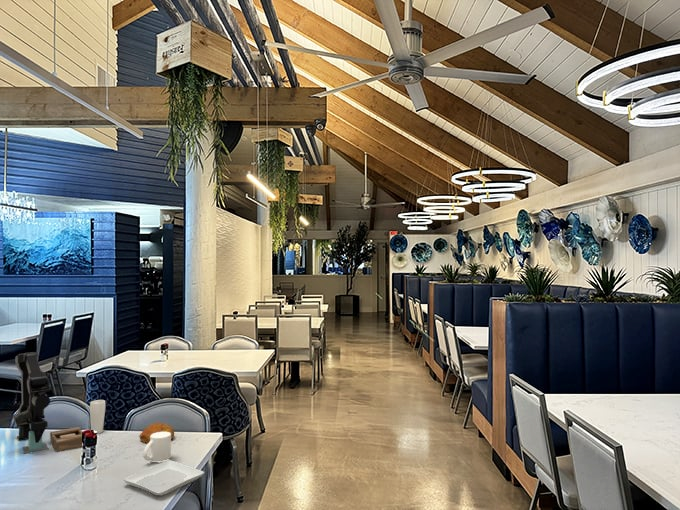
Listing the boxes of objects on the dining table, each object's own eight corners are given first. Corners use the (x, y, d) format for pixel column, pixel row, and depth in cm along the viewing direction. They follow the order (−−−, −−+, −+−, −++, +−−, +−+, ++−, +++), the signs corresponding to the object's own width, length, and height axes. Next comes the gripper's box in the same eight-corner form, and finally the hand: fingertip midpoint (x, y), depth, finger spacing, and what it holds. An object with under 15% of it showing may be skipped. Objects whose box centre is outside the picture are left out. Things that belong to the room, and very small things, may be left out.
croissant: (160, 436, 237) (160, 419, 238) (179, 438, 228) (179, 421, 229) (133, 444, 226) (132, 426, 227) (152, 446, 217) (151, 428, 218)
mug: (175, 433, 204) (150, 441, 194) (174, 458, 204) (149, 467, 194) (163, 430, 209) (138, 437, 199) (162, 454, 208) (137, 463, 198)
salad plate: (158, 502, 166) (159, 492, 166) (121, 487, 177) (121, 477, 177) (205, 480, 184) (206, 471, 184) (169, 467, 195) (169, 459, 195)
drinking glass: (98, 435, 231) (99, 403, 232) (85, 434, 233) (86, 402, 233) (107, 430, 238) (108, 400, 238) (95, 429, 239) (96, 399, 240)
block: (40, 445, 216) (40, 429, 216) (41, 448, 213) (42, 432, 213) (28, 447, 213) (28, 431, 214) (29, 450, 210) (30, 434, 210)
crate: (50, 442, 221) (50, 431, 222) (79, 436, 229) (79, 426, 229) (56, 452, 209) (56, 441, 209) (86, 446, 217) (87, 436, 217)
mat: (21, 447, 214) (21, 447, 214) (45, 443, 219) (45, 442, 219) (24, 454, 207) (24, 453, 207) (48, 449, 212) (48, 448, 212)
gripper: (12, 402, 216) (11, 437, 215) (17, 412, 201) (16, 449, 201) (41, 398, 223) (40, 432, 222) (48, 407, 208) (47, 444, 208)
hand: (35, 439), depth 213 cm, fingers open, 9 cm apart
